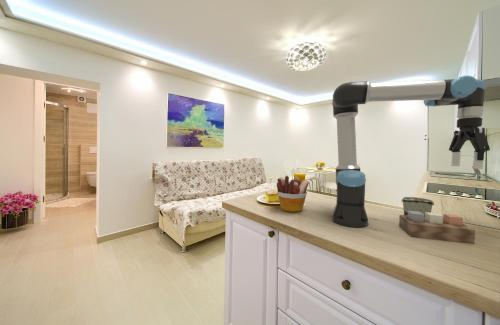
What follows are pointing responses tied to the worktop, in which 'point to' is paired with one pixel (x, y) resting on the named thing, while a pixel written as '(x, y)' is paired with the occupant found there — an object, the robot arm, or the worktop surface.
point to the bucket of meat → (291, 194)
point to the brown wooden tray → (437, 230)
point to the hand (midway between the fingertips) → (465, 167)
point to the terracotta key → (452, 219)
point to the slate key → (415, 216)
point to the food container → (417, 205)
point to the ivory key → (433, 218)
